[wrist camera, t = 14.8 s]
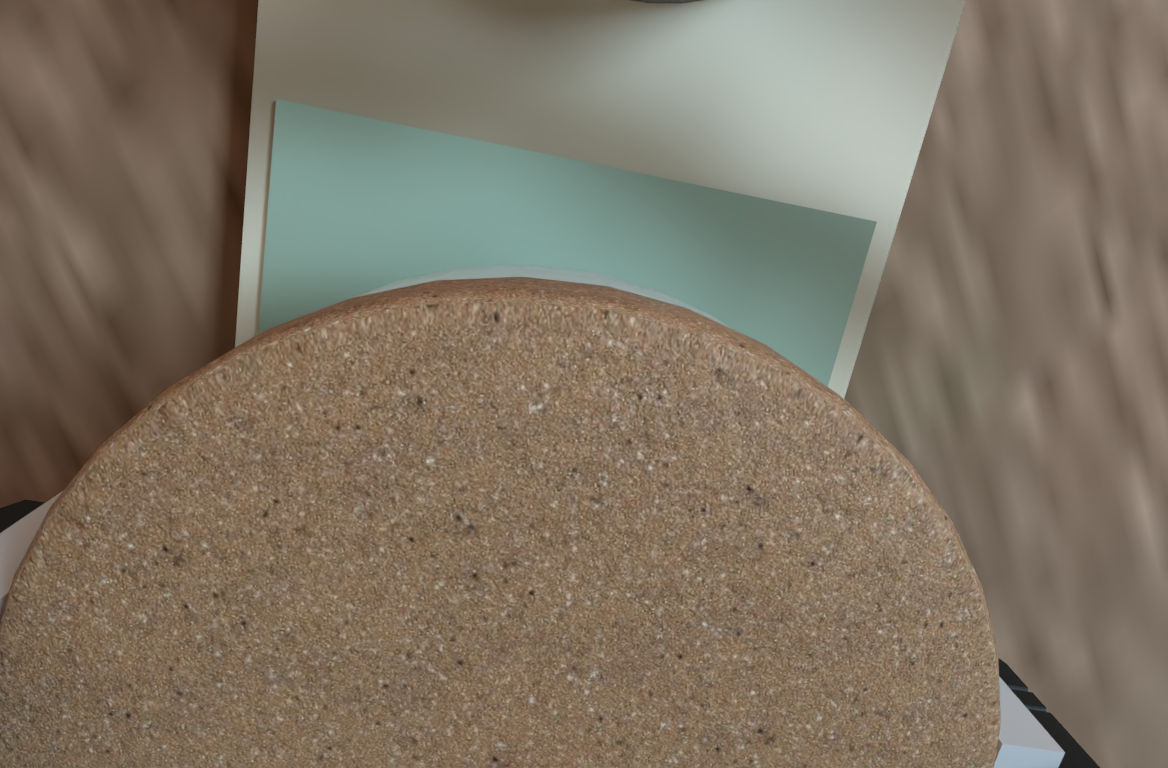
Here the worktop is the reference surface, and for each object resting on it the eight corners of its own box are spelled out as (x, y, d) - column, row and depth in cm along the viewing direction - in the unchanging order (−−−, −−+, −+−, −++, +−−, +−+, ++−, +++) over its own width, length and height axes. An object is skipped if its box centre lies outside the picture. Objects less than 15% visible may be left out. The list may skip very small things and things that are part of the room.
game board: (730, 711, 20) (766, 822, 17) (230, 642, 19) (160, 747, 15) (1081, -465, 13) (1261, -677, 10) (329, -691, 12) (243, -1022, 9)
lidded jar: (798, 676, 17) (1078, 1258, 8) (324, 737, 17) (67, 1393, 8) (778, 188, 14) (1198, 236, 5) (198, 259, 14) (-458, 440, 5)
